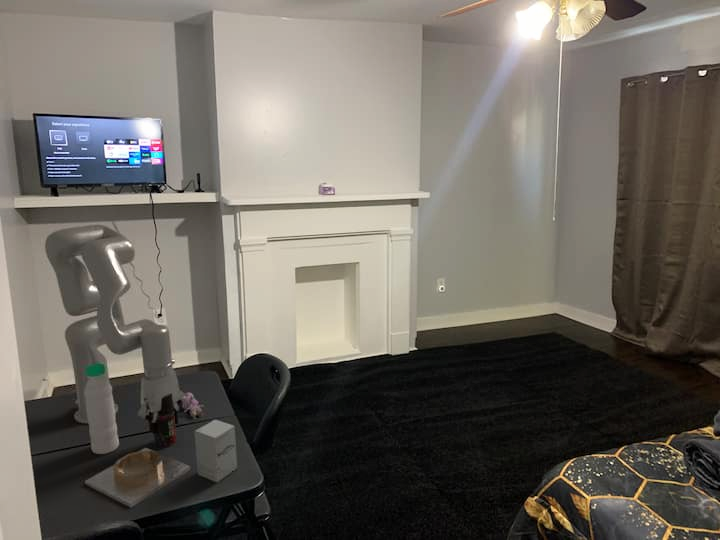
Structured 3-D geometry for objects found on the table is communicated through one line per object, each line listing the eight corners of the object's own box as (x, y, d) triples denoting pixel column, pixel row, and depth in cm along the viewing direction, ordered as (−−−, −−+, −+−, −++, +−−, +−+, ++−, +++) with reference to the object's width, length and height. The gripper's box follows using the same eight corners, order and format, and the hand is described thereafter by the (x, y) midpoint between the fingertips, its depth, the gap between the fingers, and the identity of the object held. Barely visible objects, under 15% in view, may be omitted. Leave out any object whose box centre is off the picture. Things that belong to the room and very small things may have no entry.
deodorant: (169, 448, 154) (164, 399, 151) (150, 446, 155) (145, 397, 152) (180, 437, 160) (176, 390, 157) (162, 435, 161) (157, 388, 158)
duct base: (85, 484, 138) (83, 470, 137) (146, 450, 153) (144, 437, 152) (130, 507, 129) (129, 492, 128) (190, 469, 144) (189, 456, 143)
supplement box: (217, 483, 138) (213, 438, 135) (197, 474, 142) (193, 430, 139) (238, 469, 144) (235, 425, 141) (218, 461, 148) (214, 418, 145)
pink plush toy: (208, 419, 173) (193, 395, 185) (208, 403, 171) (192, 380, 183) (189, 425, 170) (174, 400, 181) (188, 409, 168) (173, 385, 179)
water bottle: (86, 452, 153) (74, 369, 147) (105, 440, 159) (95, 359, 154) (105, 457, 150) (94, 372, 145) (124, 444, 157) (114, 362, 151)
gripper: (174, 356, 162) (179, 412, 166) (122, 377, 148) (130, 438, 152) (191, 361, 158) (196, 418, 162) (140, 383, 144) (147, 445, 148)
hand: (164, 427), depth 157 cm, fingers closed on deodorant, 5 cm apart
